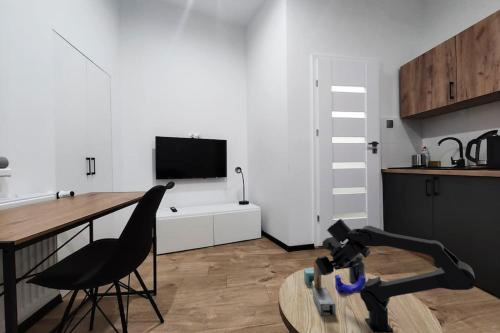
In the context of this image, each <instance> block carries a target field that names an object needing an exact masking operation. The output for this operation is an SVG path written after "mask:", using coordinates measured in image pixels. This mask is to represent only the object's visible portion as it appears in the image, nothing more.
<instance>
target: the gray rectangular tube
mask: <svg viewBox="0 0 500 333" xmlns="http://www.w3.org/2000/svg"><path fill="white" fill-rule="evenodd" d="M312 299H313V301H314V303H315V306H316V308H317V311H318V313H319V315H320V316H321V317H323V316H324V317H326V316H327V317H328V316H332V317H333V316H336V315H337V314H336V313H337V312H336V309H337V308H336V302H335V301H334V299H333V297H332V296H331V293H330V292H329V291H328V289H327V287H322V288H312ZM323 305H330V310H323Z"/></svg>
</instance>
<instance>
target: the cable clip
mask: <svg viewBox="0 0 500 333" xmlns="http://www.w3.org/2000/svg"><path fill="white" fill-rule="evenodd" d="M334 279H335V280H334V281H335V282H334V283H335V285H334V286H335V287H334V288H335V290H336V291H337V293H338V294H354V292H360V291H361V289H362V288H363V286H364V285H365V283H366V282H367V281H366V279H367V278H366V276H365V277H364V276H363V275H359V279H358V281H357V282H356V283H355V284H354V283H352V284H345V283H343V282H342V278H341V276H340V275H339V274H335V275H334Z"/></svg>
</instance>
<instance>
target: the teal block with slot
mask: <svg viewBox="0 0 500 333" xmlns="http://www.w3.org/2000/svg"><path fill="white" fill-rule="evenodd" d="M303 279H304V282H305V284H306V285H312V281H314V268H303Z"/></svg>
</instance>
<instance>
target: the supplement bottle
mask: <svg viewBox="0 0 500 333" xmlns="http://www.w3.org/2000/svg"><path fill="white" fill-rule="evenodd" d="M357 257H358V258H359V259H360V263H359V264H358V265H356V266H353V267H350V268H348V276H349V277H348V279H349V281H350V282H351V283H352V284H355V283H356V282H357V281H358V279H359V275H363V276H364V277H365V278H366V268H365V267H366V265H365V263H364V261H363V255H362V254H360V255H359V256H357Z"/></svg>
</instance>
